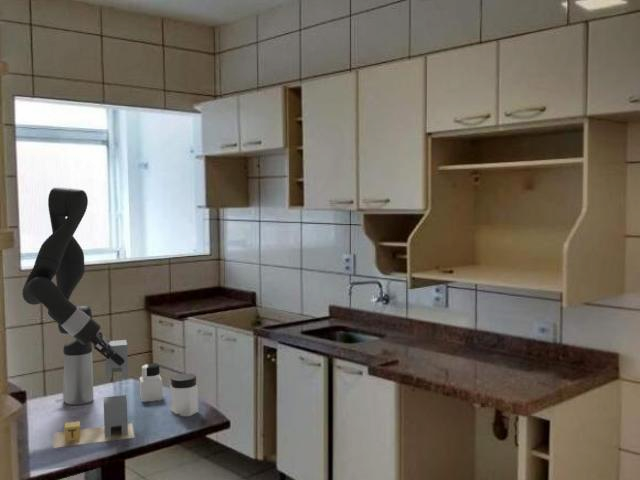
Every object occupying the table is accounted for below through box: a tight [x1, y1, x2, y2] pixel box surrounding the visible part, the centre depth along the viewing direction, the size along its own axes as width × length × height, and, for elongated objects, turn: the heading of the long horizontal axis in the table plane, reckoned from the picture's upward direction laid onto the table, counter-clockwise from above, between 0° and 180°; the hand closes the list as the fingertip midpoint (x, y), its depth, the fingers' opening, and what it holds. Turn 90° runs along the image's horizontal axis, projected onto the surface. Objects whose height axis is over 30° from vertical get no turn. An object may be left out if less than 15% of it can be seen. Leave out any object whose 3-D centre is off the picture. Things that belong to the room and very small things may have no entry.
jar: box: [169, 373, 199, 418], centre depth 208 cm, size 9×8×12 cm
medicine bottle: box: [139, 363, 164, 403], centre depth 223 cm, size 7×7×12 cm
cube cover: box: [105, 339, 129, 379], centre depth 198 cm, size 6×6×10 cm
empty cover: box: [103, 394, 129, 438], centre depth 189 cm, size 6×6×10 cm
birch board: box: [52, 423, 136, 449], centre depth 187 cm, size 22×12×1 cm, turn 110°
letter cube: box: [64, 420, 81, 441], centre depth 185 cm, size 4×4×4 cm
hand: (122, 360), depth 199 cm, fingers closed on cube cover, 6 cm apart
